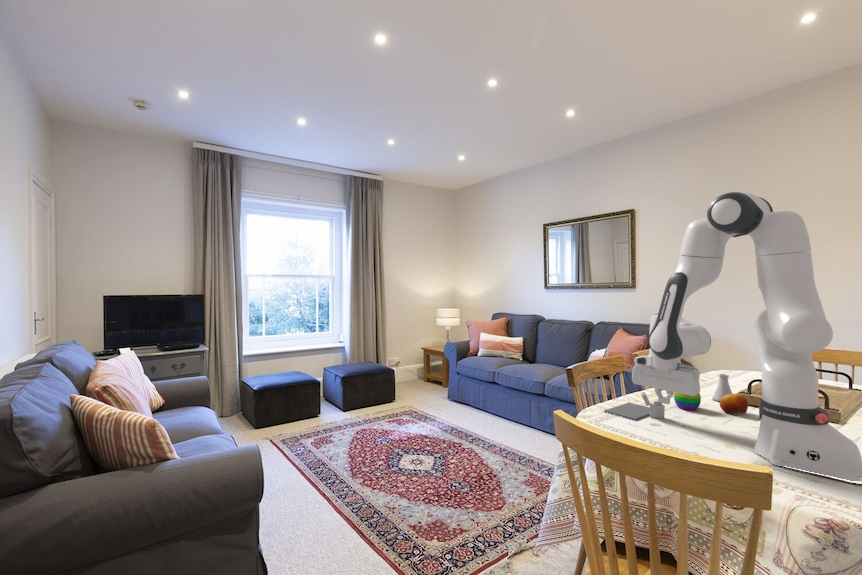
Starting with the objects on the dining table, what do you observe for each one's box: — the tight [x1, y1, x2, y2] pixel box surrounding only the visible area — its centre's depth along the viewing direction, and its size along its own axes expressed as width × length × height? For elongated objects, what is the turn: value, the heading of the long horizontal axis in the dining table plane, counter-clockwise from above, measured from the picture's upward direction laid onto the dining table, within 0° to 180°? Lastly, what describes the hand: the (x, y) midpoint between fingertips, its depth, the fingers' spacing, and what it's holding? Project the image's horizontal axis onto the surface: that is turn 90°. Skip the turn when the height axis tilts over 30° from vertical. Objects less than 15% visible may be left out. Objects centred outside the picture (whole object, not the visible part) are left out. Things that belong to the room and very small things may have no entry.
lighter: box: [640, 391, 666, 420], centre depth 138 cm, size 7×2×8 cm, turn 72°
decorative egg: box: [673, 392, 702, 411], centre depth 148 cm, size 8×8×10 cm
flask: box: [711, 373, 733, 402], centre depth 157 cm, size 7×7×10 cm
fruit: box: [719, 393, 749, 417], centre depth 142 cm, size 8×8×8 cm
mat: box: [604, 402, 650, 421], centre depth 144 cm, size 11×16×1 cm
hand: (664, 403), depth 135 cm, fingers closed
